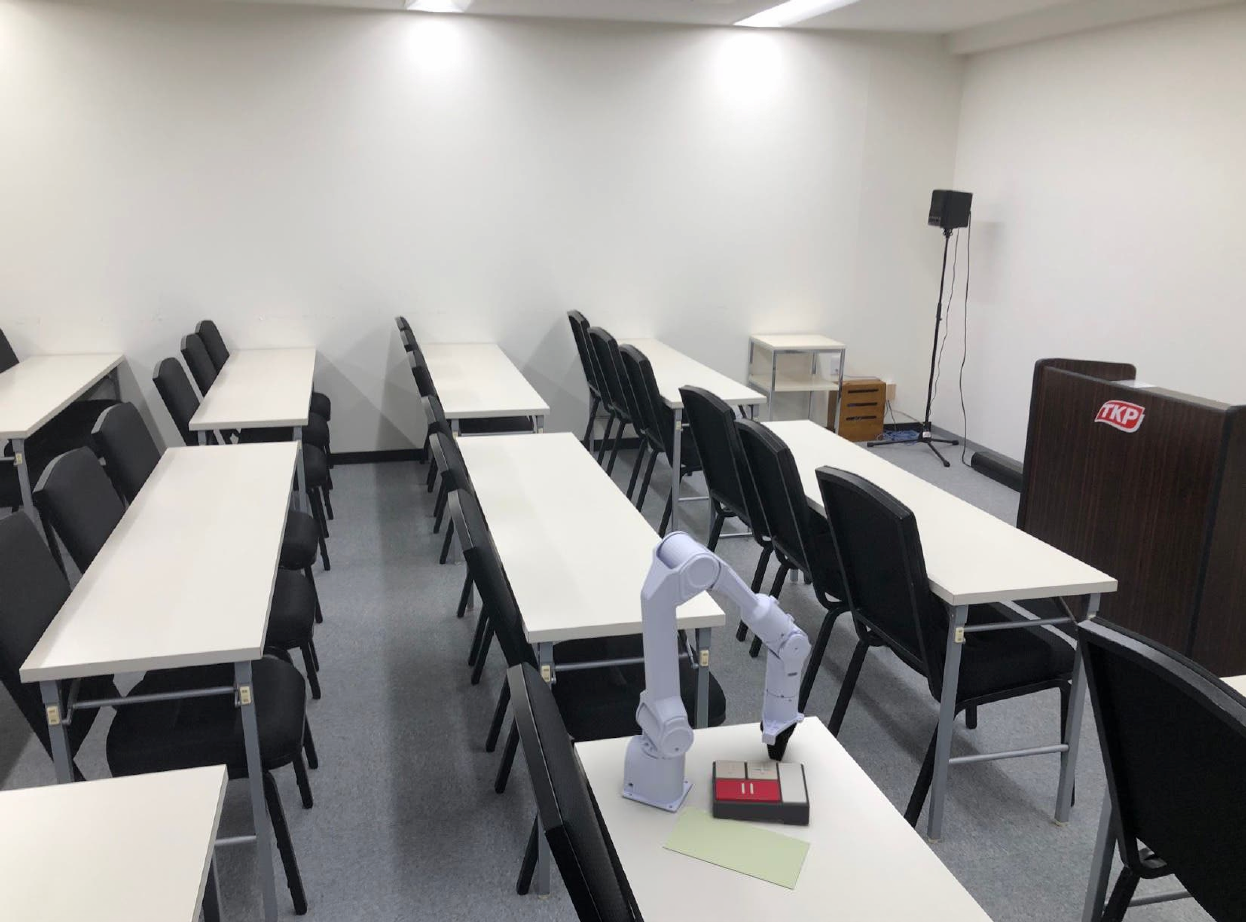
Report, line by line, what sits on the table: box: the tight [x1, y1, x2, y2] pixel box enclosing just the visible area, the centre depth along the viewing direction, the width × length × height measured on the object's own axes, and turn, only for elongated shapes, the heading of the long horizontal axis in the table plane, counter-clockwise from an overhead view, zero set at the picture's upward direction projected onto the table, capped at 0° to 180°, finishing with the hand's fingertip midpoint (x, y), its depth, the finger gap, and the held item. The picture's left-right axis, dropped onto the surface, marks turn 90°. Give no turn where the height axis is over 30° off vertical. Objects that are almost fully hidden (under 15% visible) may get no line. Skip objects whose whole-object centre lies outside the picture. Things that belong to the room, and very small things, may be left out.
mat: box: [662, 805, 811, 890], centre depth 143 cm, size 20×10×1 cm, turn 66°
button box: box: [712, 759, 811, 825], centre depth 153 cm, size 11×4×15 cm
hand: (775, 758), depth 162 cm, fingers closed
